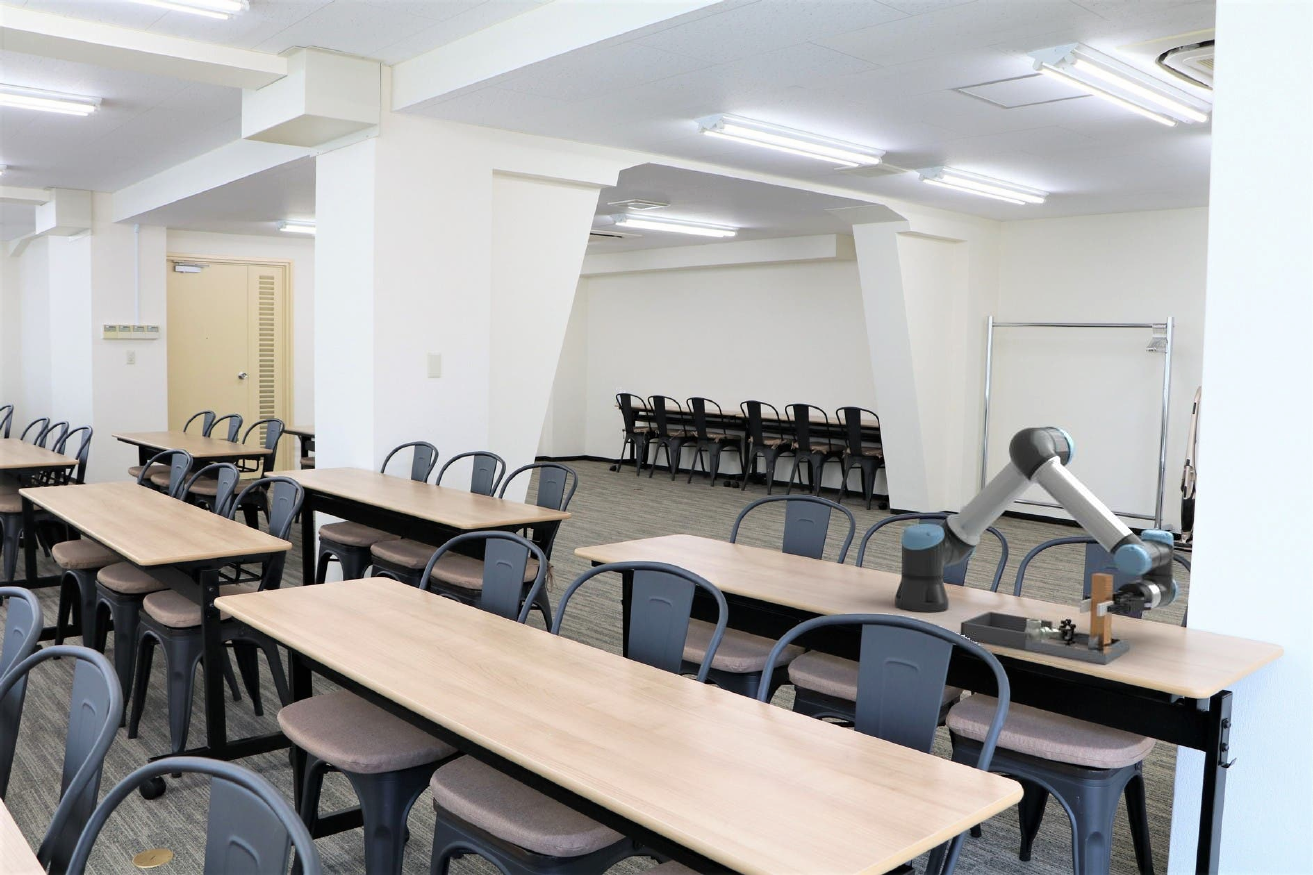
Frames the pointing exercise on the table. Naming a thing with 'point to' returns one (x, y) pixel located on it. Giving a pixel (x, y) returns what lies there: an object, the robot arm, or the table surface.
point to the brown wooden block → (1100, 624)
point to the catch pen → (999, 629)
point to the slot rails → (1077, 653)
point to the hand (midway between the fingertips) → (1089, 608)
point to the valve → (1050, 631)
